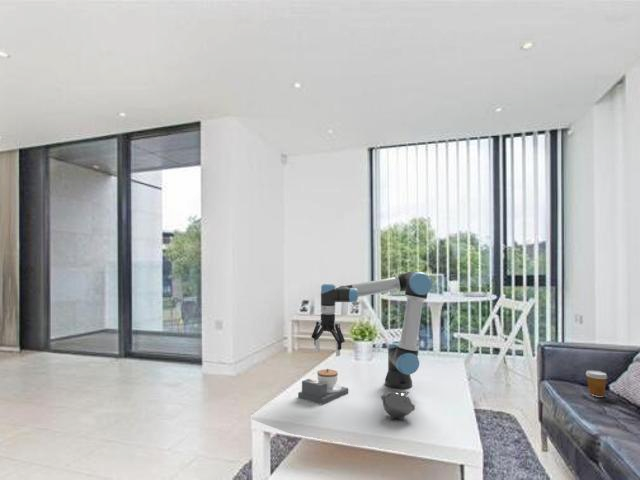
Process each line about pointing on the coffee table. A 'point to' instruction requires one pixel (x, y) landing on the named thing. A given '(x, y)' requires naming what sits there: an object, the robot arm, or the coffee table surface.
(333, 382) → the lidded jar
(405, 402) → the piggy bank
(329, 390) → the scale
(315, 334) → the robot arm
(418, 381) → the coffee table surface
